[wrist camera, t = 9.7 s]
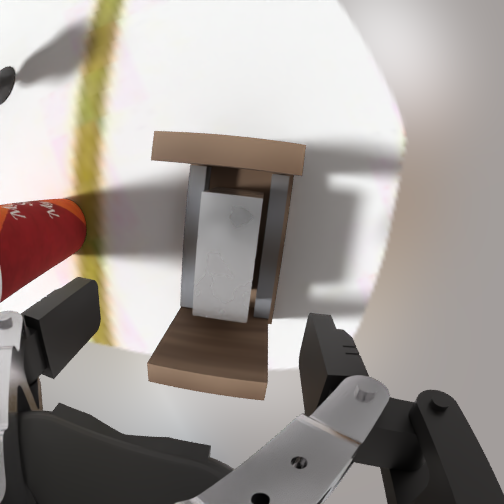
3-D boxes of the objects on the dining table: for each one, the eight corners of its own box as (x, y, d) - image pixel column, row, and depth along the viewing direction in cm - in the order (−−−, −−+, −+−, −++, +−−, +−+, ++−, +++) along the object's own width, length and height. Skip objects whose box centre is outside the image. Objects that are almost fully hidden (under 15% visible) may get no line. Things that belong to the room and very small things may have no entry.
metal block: (217, 186, 23) (201, 191, 18) (263, 192, 23) (262, 198, 18) (208, 283, 25) (192, 315, 20) (251, 289, 25) (246, 323, 20)
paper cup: (82, 175, 25) (-34, 190, 11) (106, 253, 26) (4, 315, 13) (30, 203, 25) (-73, 230, 12) (52, 271, 27) (-42, 327, 14)
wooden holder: (196, 147, 24) (144, 130, 13) (294, 158, 24) (316, 146, 13) (183, 306, 27) (141, 379, 17) (271, 318, 27) (272, 401, 16)
